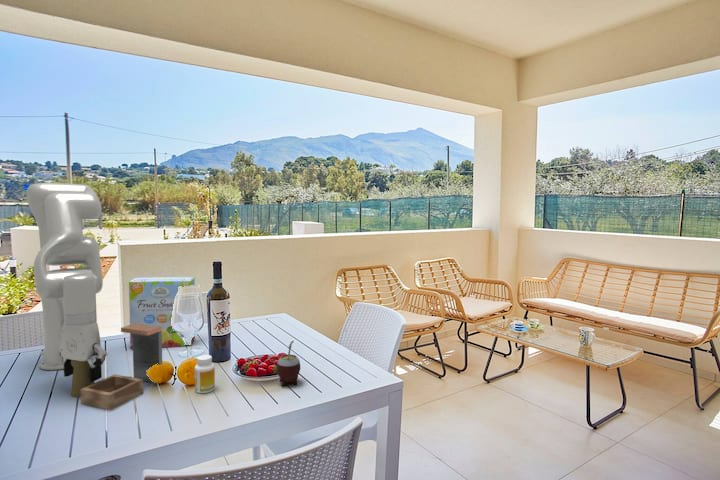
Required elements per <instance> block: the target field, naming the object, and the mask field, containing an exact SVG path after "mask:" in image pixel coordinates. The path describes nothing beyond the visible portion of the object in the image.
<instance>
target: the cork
mask: <svg viewBox="0 0 720 480" xmlns="http://www.w3.org/2000/svg"><path fill="white" fill-rule="evenodd" d="M92 360H93V361H94V359H92ZM71 365H72V366H73V367H74V370H73V375H72V380H71V390H70V396H71V397H72V398H81V394H80V389H82V388H84V387H87V386H89V385H91V384H94V383H96V382H95V381H93V382H90V378H89V368H91V366H90V364H89V363H88V361H84V362H82V361H76V360H71Z"/></svg>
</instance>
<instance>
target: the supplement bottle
mask: <svg viewBox="0 0 720 480" xmlns="http://www.w3.org/2000/svg"><path fill="white" fill-rule="evenodd" d="M212 361H213V357H212V355H210V354H203V355H199V356H197V358H196V365H195V366H194V391H195V392H196V393H197V394H207V393H210V392H212V391H214V390H215V388H216V387H215V385H216V381H215V380H216V377H215V376H216V375H215V373H216V372H215V371H216V370H215V364H214V363H213V362H212Z"/></svg>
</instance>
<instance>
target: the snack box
mask: <svg viewBox="0 0 720 480" xmlns="http://www.w3.org/2000/svg"><path fill="white" fill-rule="evenodd" d="M195 279H196V278H195V276H174V277H173V276H168V277H167V276H163V277H162V276H156V277H151V276H150V277H134V278H133V279H132V280H130V281H128V294H129V295H128V297H129V298H128V299H129V300H128V303H129V304H128V305H129V306H128V307H129V325H131V324H134V323H138V324H146V325H153V326H160V327H162V348H178V347H180V348H181V347H186V346H185V345H184V343H183V341H182V339H181V338H180V336H179V335H178V334H177V333H176V332H175V331H173V329H172V326H171V317H172V311H173V304H174V299H175V296H176V294H177V292H178V287H179V286H182V287H184V286H190V285H196V283H195ZM195 336H196V335H195ZM195 336H194V337H193V338H192V340H191V346H190V347H192V346H193V344H194V343H195V339H196V337H195ZM129 340H130V341H129V342H130V343H129V346H130V347H129V348H130V349H132V350H133V337H132V333H129Z"/></svg>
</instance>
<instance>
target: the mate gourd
mask: <svg viewBox="0 0 720 480" xmlns="http://www.w3.org/2000/svg"><path fill="white" fill-rule="evenodd" d="M294 342H295V340H292V341H291V342H290V343H289V345H288V352H287V354H283V355H281V356H280V357H279V359H278V360H277V362H276V372H277V375H278V377H279V382H281V383H282V384H281V388H285V387H286V386H287V385H291V386H292V385H293V386H298V382H297V381H298V380H299V379H298V378H299V374H300V370H301V362H300V359H299V357H298V356H297V355H295V354H291V351H292V350H291V349H292V345H293V343H294Z"/></svg>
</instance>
